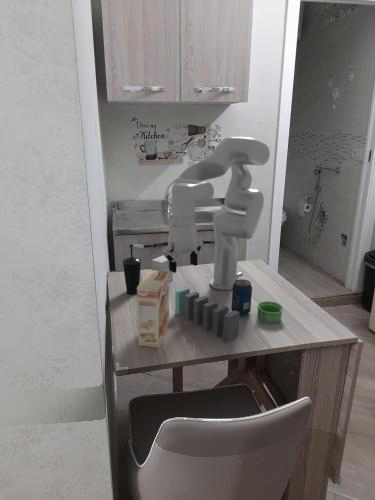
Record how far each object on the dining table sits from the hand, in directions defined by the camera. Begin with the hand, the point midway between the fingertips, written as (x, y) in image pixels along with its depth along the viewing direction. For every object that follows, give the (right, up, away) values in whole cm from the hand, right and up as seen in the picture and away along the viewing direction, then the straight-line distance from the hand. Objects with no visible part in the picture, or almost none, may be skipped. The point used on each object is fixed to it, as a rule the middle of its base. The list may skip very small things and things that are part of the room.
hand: (183, 268), depth 130 cm
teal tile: (0, -16, +5) cm, 17 cm away
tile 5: (+12, -21, -8) cm, 26 cm away
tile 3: (+6, -19, -2) cm, 20 cm away
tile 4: (+9, -20, -5) cm, 22 cm away
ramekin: (+31, -18, +2) cm, 35 cm away
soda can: (+21, -17, +5) cm, 27 cm away
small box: (-9, -7, +32) cm, 34 cm away
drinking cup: (-21, -11, +21) cm, 31 cm away
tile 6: (+15, -22, -11) cm, 29 cm away
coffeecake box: (-9, -21, -9) cm, 25 cm away
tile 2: (+3, -18, +2) cm, 18 cm away
